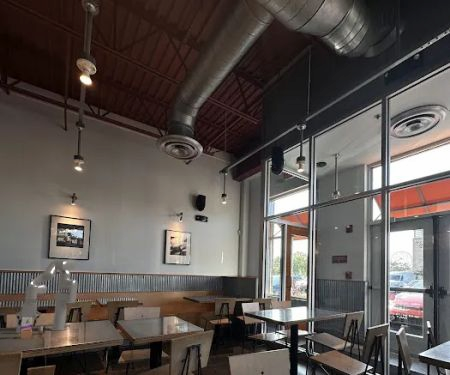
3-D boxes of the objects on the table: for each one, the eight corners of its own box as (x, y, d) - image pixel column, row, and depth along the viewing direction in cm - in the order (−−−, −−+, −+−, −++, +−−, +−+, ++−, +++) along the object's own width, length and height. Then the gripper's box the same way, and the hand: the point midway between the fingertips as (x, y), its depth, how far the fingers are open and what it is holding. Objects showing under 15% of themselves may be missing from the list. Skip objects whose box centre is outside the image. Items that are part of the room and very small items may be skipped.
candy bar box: (26, 332, 290) (29, 311, 293) (31, 332, 288) (34, 312, 292) (15, 334, 279) (18, 313, 283) (19, 335, 278) (22, 313, 281)
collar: (31, 336, 270) (32, 329, 271) (30, 338, 263) (31, 331, 264) (21, 336, 267) (21, 329, 268) (20, 338, 260) (21, 331, 261)
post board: (46, 334, 284) (47, 324, 285) (46, 339, 266) (47, 329, 268) (18, 336, 275) (19, 326, 277) (15, 341, 258) (17, 330, 259)
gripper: (43, 300, 277) (39, 323, 273) (18, 301, 270) (14, 324, 266) (42, 301, 271) (39, 325, 267) (17, 302, 263) (13, 326, 259)
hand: (27, 325), depth 266 cm, fingers open, 9 cm apart
